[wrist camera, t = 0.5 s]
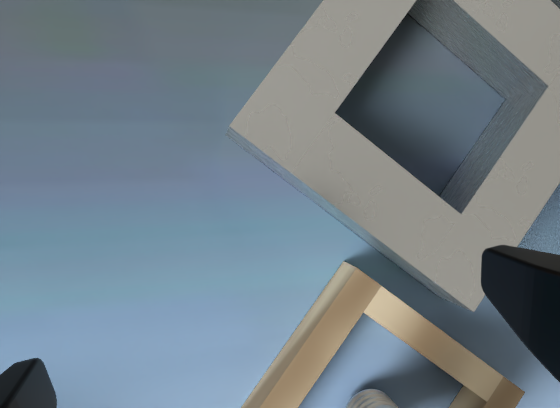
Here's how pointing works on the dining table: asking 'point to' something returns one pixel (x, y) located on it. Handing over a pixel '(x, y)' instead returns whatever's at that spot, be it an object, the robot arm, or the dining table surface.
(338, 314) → the wooden picture frame
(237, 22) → the dining table surface
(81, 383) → the dining table surface
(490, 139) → the socket
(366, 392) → the lightbulb
